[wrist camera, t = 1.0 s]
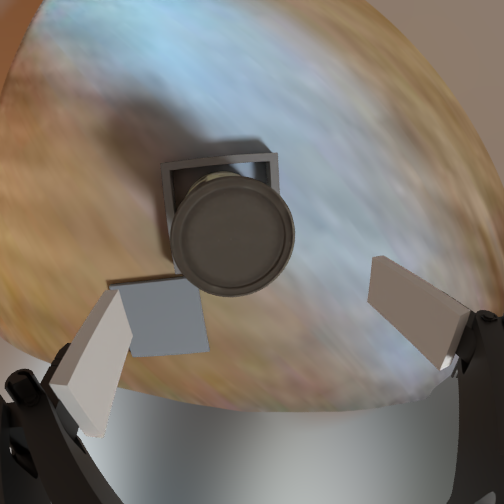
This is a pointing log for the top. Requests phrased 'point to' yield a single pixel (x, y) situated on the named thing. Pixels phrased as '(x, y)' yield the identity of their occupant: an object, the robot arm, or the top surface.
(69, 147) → the top surface
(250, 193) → the coffee can
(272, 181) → the collar
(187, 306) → the slate mat
